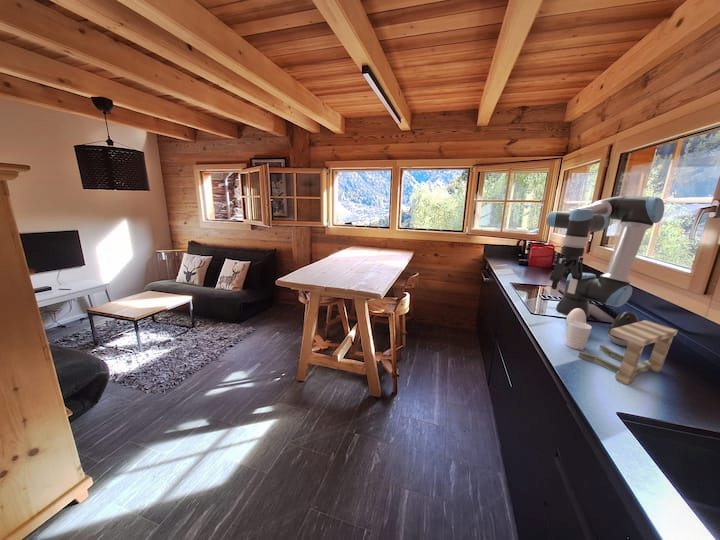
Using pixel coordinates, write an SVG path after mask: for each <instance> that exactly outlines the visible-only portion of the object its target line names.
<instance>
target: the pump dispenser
mask: <svg viewBox="0 0 720 540" xmlns="http://www.w3.org/2000/svg"><path fill="white" fill-rule="evenodd" d="M636 322H640V321H639V317H638V316H637V314H636V313H634V312H632V311H628V310H627V311H625V310H624V311H622V312H620V313H619V314H618V315H617V316H616V317H615V318H614V320H613V321H612V322H611V324H610V326H609V328H608V330H607V336H608V339H609V340H610V341H611V342H612V343H613V344H616V345H617V344H618V345H619V346H620V345H621V346H620V347H627V345H628V342H629V341H626V340H623V339H621V338H618V337H616V336H613V335H610V331H611V329H613V328H617V327H621V326H624V325H628V324H632V323H636Z"/></svg>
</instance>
